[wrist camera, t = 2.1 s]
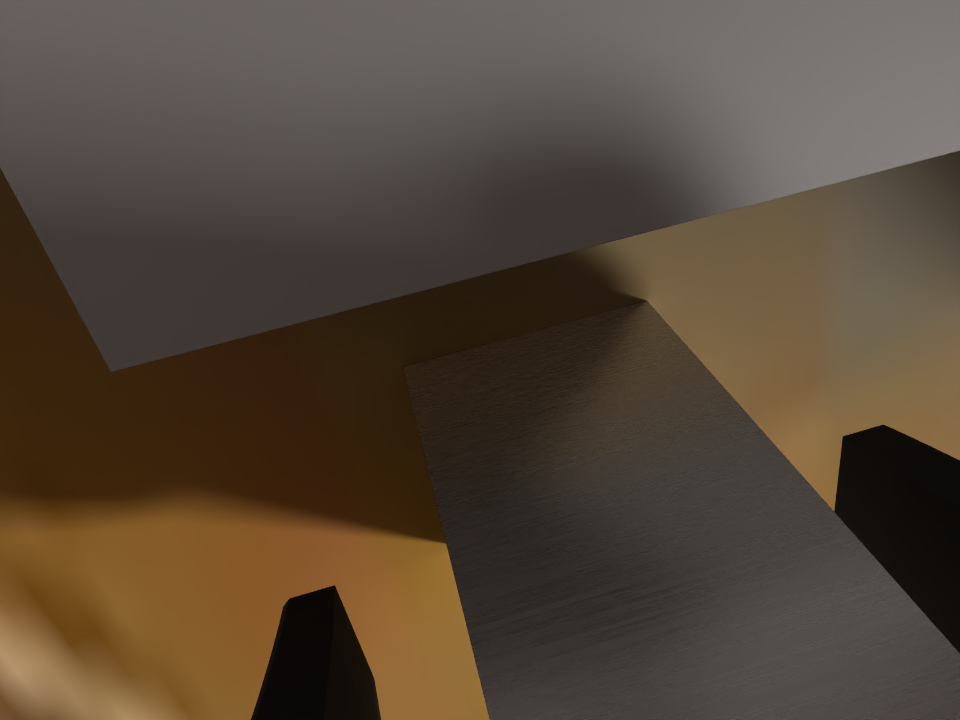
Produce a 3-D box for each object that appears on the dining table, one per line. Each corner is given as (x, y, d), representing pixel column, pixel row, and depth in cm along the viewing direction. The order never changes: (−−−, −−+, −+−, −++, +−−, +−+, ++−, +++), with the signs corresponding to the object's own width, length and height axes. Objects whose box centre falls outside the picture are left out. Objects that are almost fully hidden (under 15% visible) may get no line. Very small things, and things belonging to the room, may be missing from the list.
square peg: (647, 300, 12) (1091, 800, 5) (658, 484, 14) (984, 1002, 8) (402, 367, 12) (556, 986, 5) (452, 544, 14) (605, 1141, 7)
